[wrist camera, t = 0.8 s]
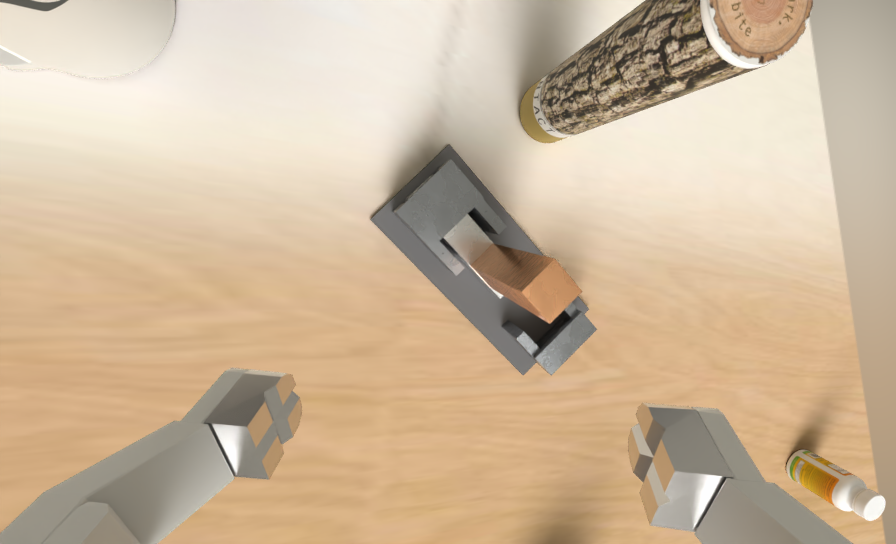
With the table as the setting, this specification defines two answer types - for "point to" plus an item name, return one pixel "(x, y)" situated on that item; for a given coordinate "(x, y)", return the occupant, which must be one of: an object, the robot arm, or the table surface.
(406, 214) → the grey u-shaped block
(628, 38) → the paper tube
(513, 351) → the grey rectangular plate
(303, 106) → the table surface
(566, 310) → the socket
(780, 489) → the robot arm
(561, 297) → the brown piece
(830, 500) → the supplement bottle
